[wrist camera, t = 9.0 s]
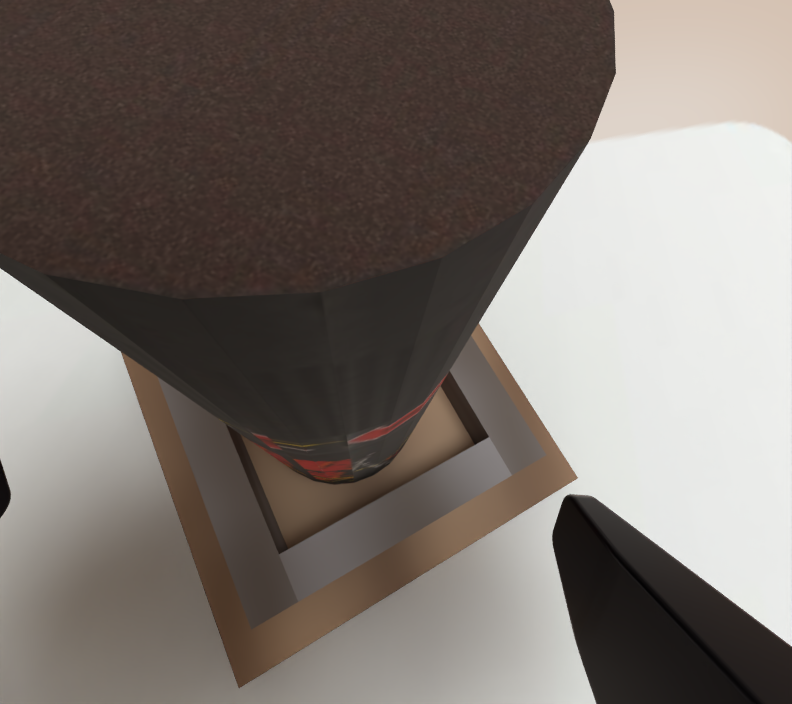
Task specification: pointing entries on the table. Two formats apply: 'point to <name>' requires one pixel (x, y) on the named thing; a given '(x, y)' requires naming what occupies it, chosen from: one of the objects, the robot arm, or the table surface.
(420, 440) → the socket board
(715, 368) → the table surface
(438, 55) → the deodorant
